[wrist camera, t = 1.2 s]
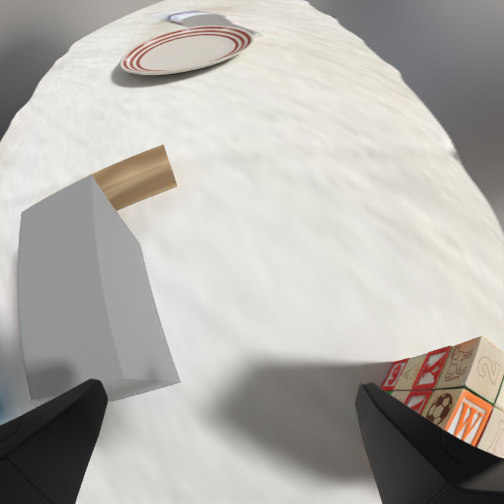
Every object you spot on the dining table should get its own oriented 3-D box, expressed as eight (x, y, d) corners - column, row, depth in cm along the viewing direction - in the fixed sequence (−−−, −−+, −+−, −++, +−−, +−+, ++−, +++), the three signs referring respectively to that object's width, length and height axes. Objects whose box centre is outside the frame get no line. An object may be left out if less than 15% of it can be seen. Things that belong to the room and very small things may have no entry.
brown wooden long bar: (177, 186, 30) (168, 162, 27) (45, 243, 28) (27, 227, 24) (171, 168, 32) (163, 144, 28) (46, 224, 29) (29, 207, 25)
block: (180, 382, 22) (124, 378, 12) (112, 401, 21) (31, 400, 11) (140, 244, 27) (91, 174, 17) (84, 268, 26) (21, 212, 16)
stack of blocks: (509, 430, 16) (585, 424, 5) (486, 478, 14) (560, 488, 3) (392, 360, 22) (483, 332, 11) (357, 420, 20) (438, 442, 9)
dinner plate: (154, 39, 54) (151, 29, 51) (261, 33, 52) (261, 22, 49) (100, 95, 42) (95, 82, 39) (242, 85, 40) (241, 68, 37)
